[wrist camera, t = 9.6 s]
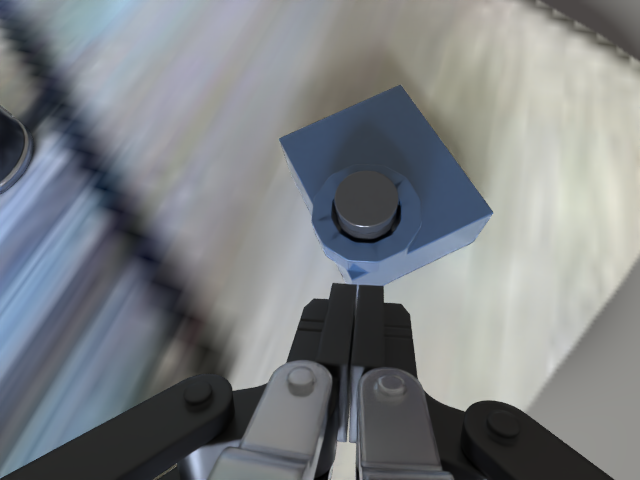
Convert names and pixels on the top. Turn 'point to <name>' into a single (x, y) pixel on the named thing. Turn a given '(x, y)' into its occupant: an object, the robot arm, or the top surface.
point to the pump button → (366, 205)
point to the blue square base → (406, 174)
